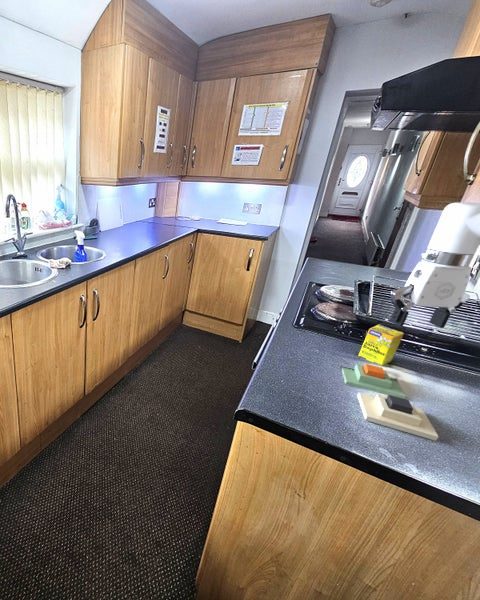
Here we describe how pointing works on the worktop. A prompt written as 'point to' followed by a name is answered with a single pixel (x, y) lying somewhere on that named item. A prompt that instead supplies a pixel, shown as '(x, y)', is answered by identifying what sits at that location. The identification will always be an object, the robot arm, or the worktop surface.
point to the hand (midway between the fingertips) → (416, 324)
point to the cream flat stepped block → (396, 416)
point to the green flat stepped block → (371, 381)
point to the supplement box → (380, 344)
